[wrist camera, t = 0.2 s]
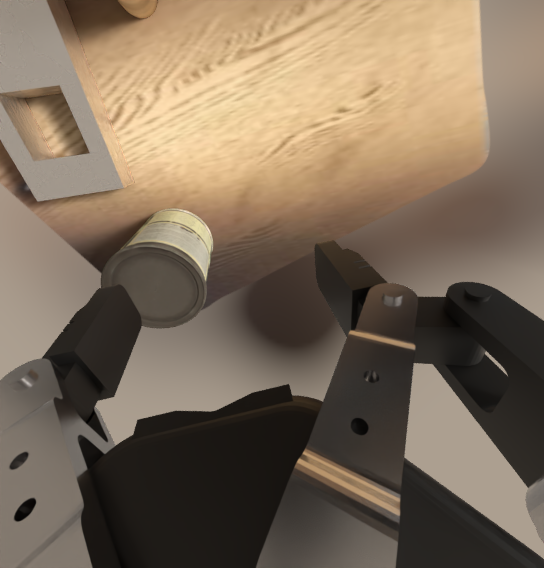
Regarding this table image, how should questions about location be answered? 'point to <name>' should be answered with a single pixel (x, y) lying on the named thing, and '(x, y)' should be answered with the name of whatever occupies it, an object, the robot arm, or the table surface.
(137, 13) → the peg
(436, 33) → the table surface
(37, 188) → the block
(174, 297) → the coffee can
